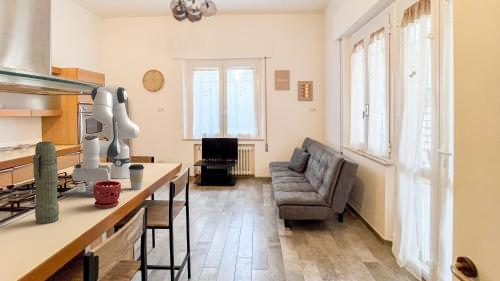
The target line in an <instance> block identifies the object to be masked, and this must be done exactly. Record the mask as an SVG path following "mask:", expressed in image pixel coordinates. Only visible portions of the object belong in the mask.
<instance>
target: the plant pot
mask: <svg viewBox="0 0 500 281" xmlns="http://www.w3.org/2000/svg"><path fill="white" fill-rule="evenodd" d="M97 191H98V192H97ZM121 191H122V183H121V182H119V181H116V180H115V181H114V180H109V181H100V182H96V183H94V184H93V193H94V197H93V198H94V200H95V201H94V203H93V205H94V206H95V207H97V208H100V209H110V208H114V207H116V206H118V205H119V204H120V203H119V202H120V201H119V198H120V195H121Z"/></svg>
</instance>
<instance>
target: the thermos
mask: <svg viewBox="0 0 500 281" xmlns="http://www.w3.org/2000/svg"><path fill="white" fill-rule="evenodd" d="M56 149H57V148H56V146H55V143H54V142H52V141H39V142H37V143H36V145H35V148H34V155H33V157H32V159H33V163H32V165H33V179H34V184H35V195H36V196H35V201H36V202H35V206H34V214H35V215H34V217H35V223H36V224H37V225H38V224H39V225H49V224H52V223H56V222H58V221H59V214H60V209H59V208H60V206H59V203H58V185H57V184H58V182H59V176H58V175H59V170H58V154H57V151H56Z"/></svg>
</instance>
